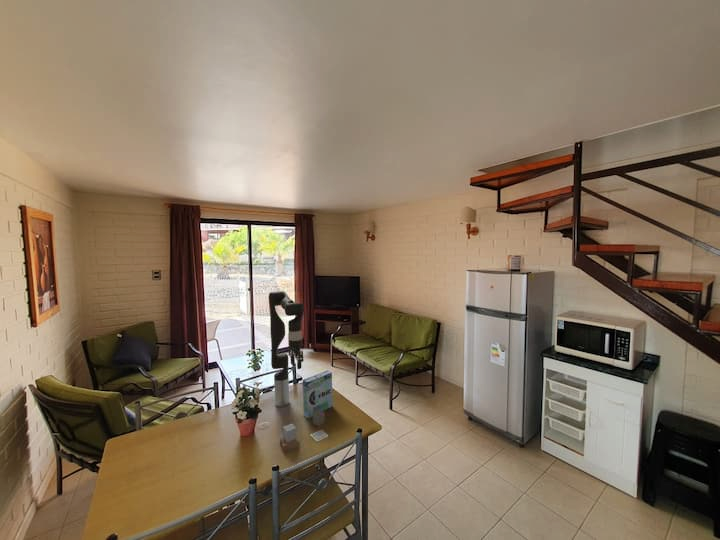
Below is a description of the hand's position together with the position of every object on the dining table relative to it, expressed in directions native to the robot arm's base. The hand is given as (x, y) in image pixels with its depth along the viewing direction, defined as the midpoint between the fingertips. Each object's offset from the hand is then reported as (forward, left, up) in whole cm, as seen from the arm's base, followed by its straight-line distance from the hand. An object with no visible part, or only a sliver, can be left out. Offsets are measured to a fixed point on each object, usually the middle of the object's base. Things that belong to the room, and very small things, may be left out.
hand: (296, 366), depth 161 cm
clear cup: (+11, -10, -32) cm, 36 cm away
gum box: (-8, +18, -36) cm, 41 cm away
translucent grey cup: (+3, +12, -36) cm, 38 cm away
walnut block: (+11, -10, -36) cm, 39 cm away
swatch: (+14, +6, -36) cm, 39 cm away
